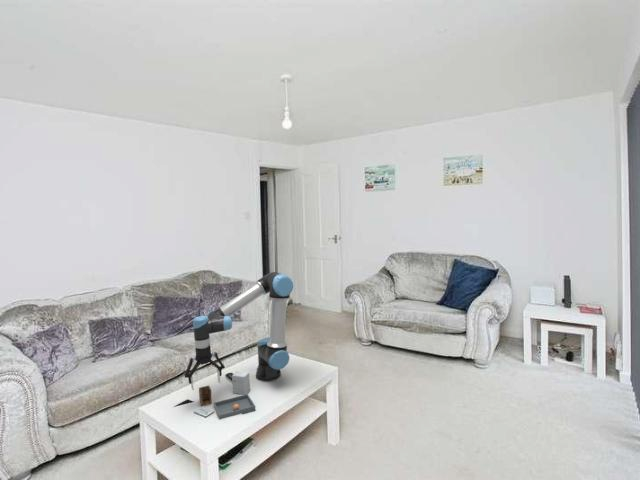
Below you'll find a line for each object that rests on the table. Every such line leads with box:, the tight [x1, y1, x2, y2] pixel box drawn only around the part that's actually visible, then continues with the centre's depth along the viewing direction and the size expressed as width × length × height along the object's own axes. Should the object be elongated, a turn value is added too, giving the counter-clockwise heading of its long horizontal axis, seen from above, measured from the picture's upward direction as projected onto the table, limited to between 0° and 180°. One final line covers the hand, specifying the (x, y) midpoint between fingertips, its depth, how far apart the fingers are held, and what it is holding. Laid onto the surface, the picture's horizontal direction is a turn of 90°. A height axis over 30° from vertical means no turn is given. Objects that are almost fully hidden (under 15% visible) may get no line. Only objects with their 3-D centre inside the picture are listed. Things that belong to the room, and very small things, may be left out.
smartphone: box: [173, 399, 195, 408], centre depth 188 cm, size 8×17×1 cm, turn 149°
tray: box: [213, 393, 257, 420], centre depth 186 cm, size 18×14×2 cm
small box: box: [231, 371, 251, 396], centre depth 204 cm, size 8×6×10 cm
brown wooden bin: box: [198, 385, 213, 407], centre depth 192 cm, size 5×6×8 cm
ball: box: [233, 404, 239, 410], centre depth 184 cm, size 3×3×3 cm
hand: (206, 385), depth 192 cm, fingers open, 13 cm apart
